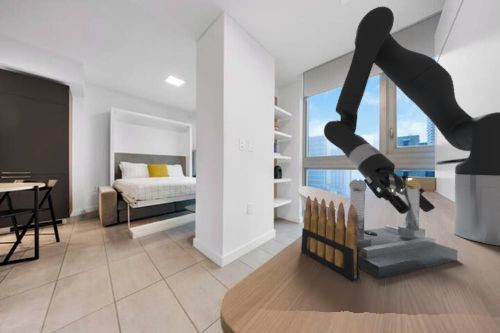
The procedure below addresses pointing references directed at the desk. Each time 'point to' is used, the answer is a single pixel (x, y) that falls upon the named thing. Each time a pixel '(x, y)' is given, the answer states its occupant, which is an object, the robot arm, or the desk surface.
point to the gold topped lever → (411, 211)
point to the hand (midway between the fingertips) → (418, 211)
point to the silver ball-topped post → (359, 211)
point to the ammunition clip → (331, 238)
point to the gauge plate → (401, 253)
